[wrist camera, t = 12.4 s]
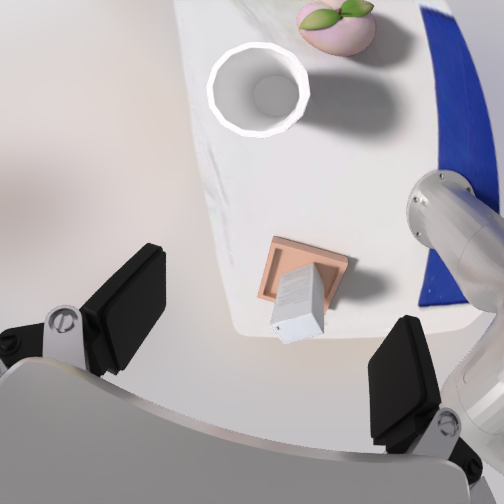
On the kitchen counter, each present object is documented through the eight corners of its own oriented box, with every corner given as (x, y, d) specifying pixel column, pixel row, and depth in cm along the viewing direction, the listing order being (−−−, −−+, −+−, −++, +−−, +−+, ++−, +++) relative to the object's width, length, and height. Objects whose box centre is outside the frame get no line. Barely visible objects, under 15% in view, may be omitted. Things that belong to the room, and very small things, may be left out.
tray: (347, 256, 41) (348, 263, 40) (324, 308, 47) (324, 315, 45) (273, 235, 42) (271, 241, 41) (259, 290, 48) (257, 297, 46)
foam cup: (325, 108, 32) (330, 106, 21) (266, 141, 36) (243, 156, 25) (285, 52, 29) (270, 24, 18) (229, 87, 33) (189, 79, 22)
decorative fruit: (328, 74, 29) (333, 61, 21) (289, 30, 27) (279, 5, 18) (381, 44, 25) (402, 24, 16) (342, 0, 23) (349, -30, 14)
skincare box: (292, 293, 46) (282, 345, 36) (280, 273, 45) (268, 324, 34) (325, 281, 43) (324, 334, 33) (315, 260, 42) (311, 311, 32)
